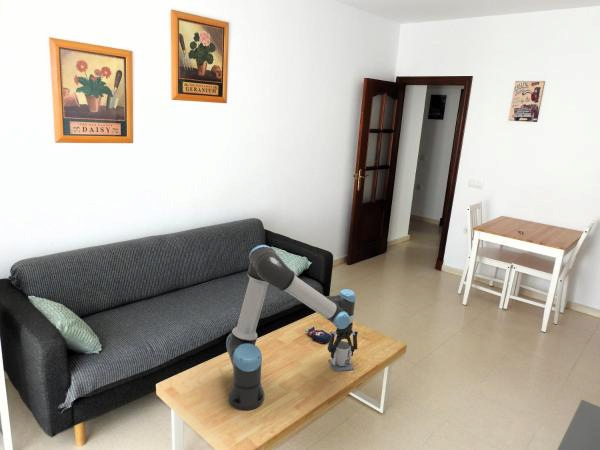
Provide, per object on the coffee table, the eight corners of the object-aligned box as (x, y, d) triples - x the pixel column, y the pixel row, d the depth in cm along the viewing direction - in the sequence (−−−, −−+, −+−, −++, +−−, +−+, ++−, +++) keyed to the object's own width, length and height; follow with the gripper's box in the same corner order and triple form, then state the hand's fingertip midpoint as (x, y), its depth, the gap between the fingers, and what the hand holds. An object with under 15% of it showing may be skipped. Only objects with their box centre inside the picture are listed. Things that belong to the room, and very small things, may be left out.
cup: (348, 369, 213) (350, 350, 211) (331, 366, 215) (333, 348, 212) (350, 360, 221) (351, 342, 218) (334, 357, 222) (335, 339, 220)
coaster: (335, 372, 212) (335, 370, 212) (328, 360, 221) (328, 359, 221) (354, 370, 215) (354, 368, 215) (346, 358, 224) (346, 357, 224)
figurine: (312, 324, 250) (333, 333, 241) (311, 330, 251) (332, 340, 242) (302, 329, 243) (323, 339, 234) (301, 336, 244) (323, 346, 235)
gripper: (327, 326, 205) (324, 369, 211) (367, 322, 211) (363, 364, 217) (322, 318, 212) (319, 360, 218) (361, 315, 218) (357, 356, 224)
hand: (341, 362), depth 218 cm, fingers closed on cup, 8 cm apart
